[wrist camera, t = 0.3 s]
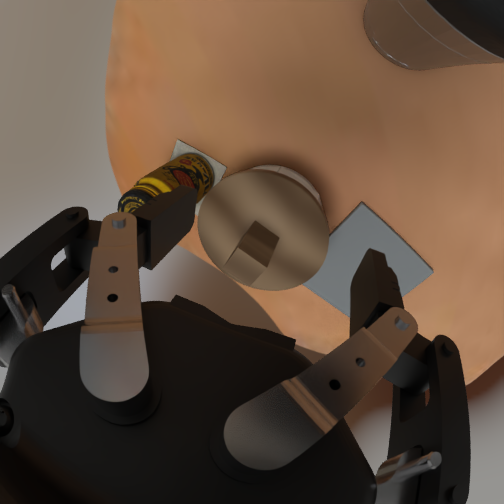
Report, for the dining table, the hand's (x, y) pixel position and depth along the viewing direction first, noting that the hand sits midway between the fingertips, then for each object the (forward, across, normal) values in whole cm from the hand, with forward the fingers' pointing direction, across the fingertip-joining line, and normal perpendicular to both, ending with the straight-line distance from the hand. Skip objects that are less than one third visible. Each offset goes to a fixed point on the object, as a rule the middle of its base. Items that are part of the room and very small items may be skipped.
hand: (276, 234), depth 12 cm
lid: (+14, +2, +9) cm, 17 cm away
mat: (+20, -11, +12) cm, 26 cm away
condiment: (+20, +14, +8) cm, 25 cm away
